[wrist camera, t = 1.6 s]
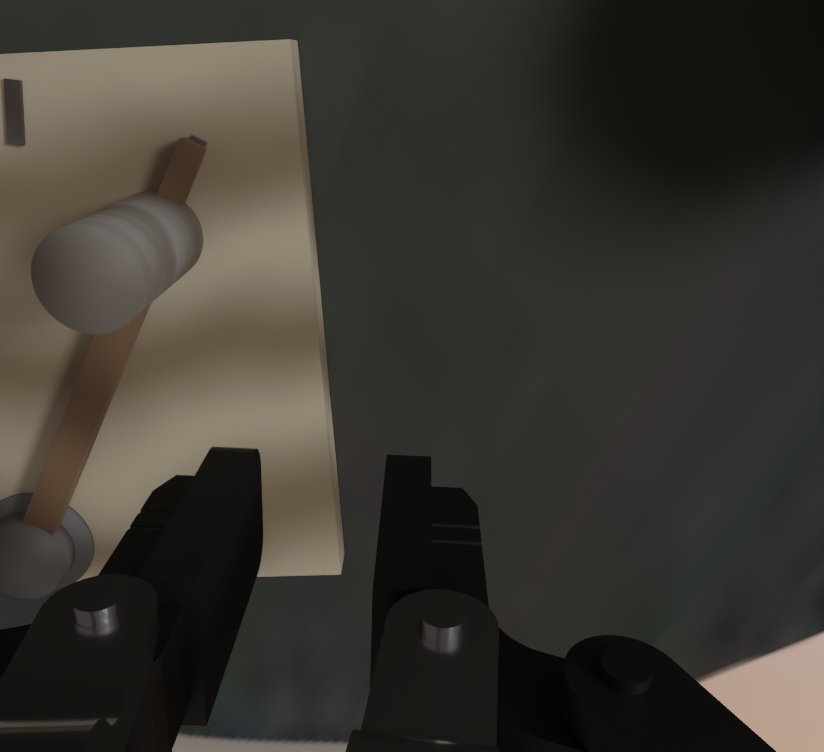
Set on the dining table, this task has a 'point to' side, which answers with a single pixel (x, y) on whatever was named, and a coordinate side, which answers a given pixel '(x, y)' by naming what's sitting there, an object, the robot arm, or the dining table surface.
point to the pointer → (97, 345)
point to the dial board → (172, 289)
